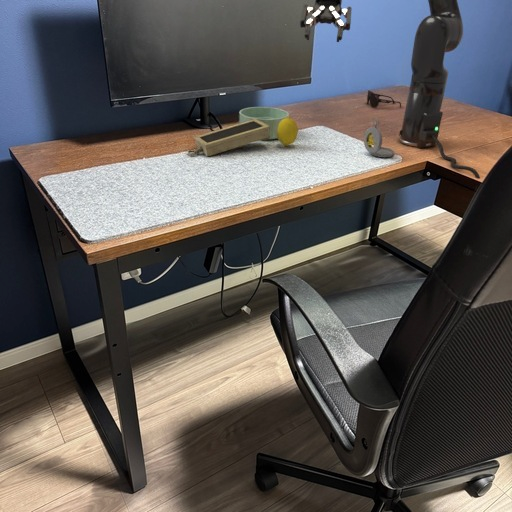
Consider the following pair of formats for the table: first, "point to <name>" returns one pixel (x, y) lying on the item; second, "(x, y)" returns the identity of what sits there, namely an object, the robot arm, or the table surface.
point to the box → (231, 137)
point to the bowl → (264, 117)
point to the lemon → (287, 131)
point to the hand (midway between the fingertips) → (322, 39)
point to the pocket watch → (376, 142)
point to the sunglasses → (377, 99)
